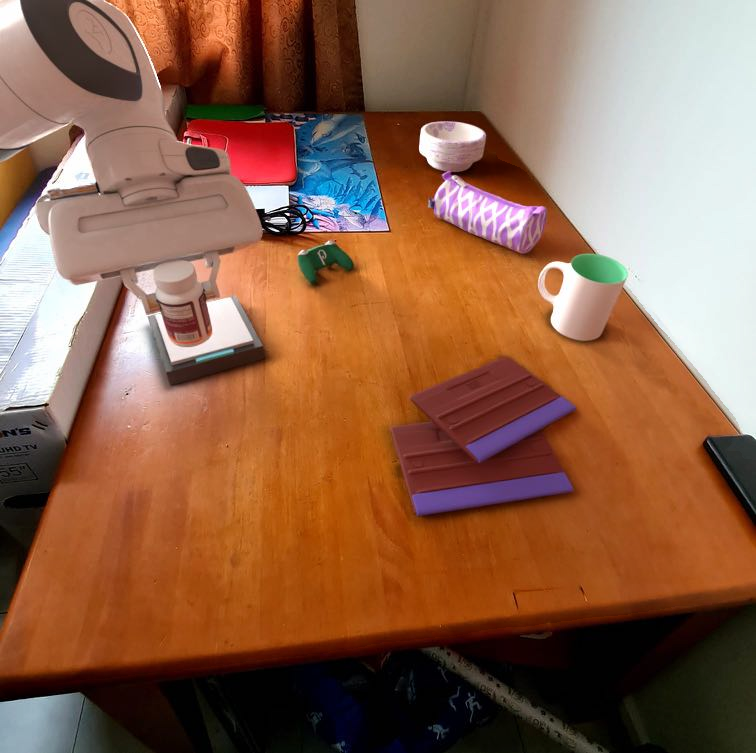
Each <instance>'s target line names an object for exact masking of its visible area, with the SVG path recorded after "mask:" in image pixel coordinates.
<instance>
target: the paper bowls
mask: <svg viewBox="0 0 756 753" xmlns="http://www.w3.org/2000/svg"><path fill="white" fill-rule="evenodd" d="M486 140H487V134H486V132H485V131H484V130H483V129H482V128H480V127H478V126H475V125H474V124H469V123H465V122H459V121H445V120H444V121H436V122H435V121H434V122H429V123H426V124H425V125H423V126H422V127H421V129H420V136H419V144H418V145H419V147H418V149H419V153H420V154H421V155H422V156H423V157H425V158H426V160H427V163H428V164H429V165H430V166H431V167H432V168H434V169H435V170H439V171H442V172H445V173H446V172H448V171H451V173H461V172H464V171H467V170H468V169H470V168H471V166H472V165H473V164H474V163H476V162H478V161H480V160H481V159H482V158H483V156H484V151H485V145H486Z"/></svg>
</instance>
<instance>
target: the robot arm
mask: <svg viewBox="0 0 756 753" xmlns="http://www.w3.org/2000/svg"><path fill="white" fill-rule="evenodd" d="M165 100H166V99H165V97H164V93H163V91H162V88H161V84H160V82H159V79H158V76H157V73H156V70H155V68H154V65H153V62H152V61H151V58H150V56H149V54H148V51H147V49H146V47H145V44H144V43H143V41H142V39H141V37H140V35H139V33H138V31H137V29H136V27H135V26H134V24H133V23H132V21H131V19H130V18H129V17H128V16H127V14H126V13H125V12H123V11H122V10H121V9H120V8H119V7H117V6H116V5H114V4H113V3H110V2H108V1H106V0H0V163H2V162H5V161H8V160H10V159H11V158H12V157H14V156H15V155H17V154H19V153H20V152H22V151H23V150H25V149H26V148H28V147H29V146H30V145H32V144H33V143H34V142H36V141H38V140H40V139H42V138H44V137H46V136H48V135H49V134H52V133H54V132H56V131H58V130H60V129H63V128H64V127H66V126H68V125H70V124H72V125H75V126H77V127H79V128H81V129H83V132H84V139H85V140H84V145H85V146H84V147H85V151H86V155H87V158H88V161H89V165H90V167H91V170H92V174H93V177H94V179H95V182H90V183H84V184H77V185H74V186H71V187H64V188H62V187H57V188H52V189H49V190H47V191H46V194H44V195H42V196H41V197H40V198H38V199H37V201H36V203H35V206H34V211H35V215H36V218H37V221H38V225H39V227H40V228H41V230H42V231H43V232H44V233H45V234H47V235H48V236H49V240H50V246H51V252H52V255H53V256H52V257H53V259H54V264H55V267H56V270H57V273H58V275H60V277H61V278H62V279H63V280H65V281H66V282H68V283H70V284H72V285H73V286H80V285H85V284H89V283H95V282H99V281H105V280H109V279H114V278H118V277H121V281H122V282H123V283H122V284H123V285H124V287H125V288H126V289H128V291H130V292H131V293H132V294H133V295H134V296H135V297H136V298H137V299H138V300H141V303H142V306H143V310H144V312H145V315H146V316H150V315H154V314H158V313H161V310H160V307H159V303H158V302H157V298H156V294H155V292H152V293H146V292H145V291H144V290H143V289H142V288H141V287H140V286H139V285H138V284H139V278H138V275H137V273H142V272H147V271H152V270H153V271H154V269H155V268H156V267H157V266H158V265H160V264H161V263H163V262H166V261H170V260H185V261H188V262H190V263H192V262H197V261H203V264H204V265H205V268H206V269H210V274H209V278H208V280H205V281H201V284H202V286H203V289H204V295H205V299H206V302H210V301H214V300H218V299H220V297H221V295H220V290H219V288H218V283H217V277H218V273H219V270H220V265H221V258H220V256H225V255H230V254H235V253H239V252H244V251H249V250H253V249H255V248H257V247H258V245H259V243H261V242H260V241H261V239H262V238H263V233H264V232H263V227H262V223H261V220H260V217H259V214H258V212H257V209H256V207H255V205H254V202H253V200H252V198H251V195H250V194H249V191H248V190H247V188H246V186H245V185H244V183H243V182H242V181H241V180H240V179H239V177H236V176H235V175H233V174H232V165H231V158H230V155H229V154H228V152H227V151H226V150H224V149H221V148H216V147H209V146H204V145H198V144H192V143H188V142H182V141H179V140H178V138H177V136H176V133H175V132H174V130H173V128H172V127H171V125H170V124H169V122H168V119H167V116H166V101H165ZM48 199H49V200H48Z"/></svg>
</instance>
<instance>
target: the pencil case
mask: <svg viewBox="0 0 756 753" xmlns="http://www.w3.org/2000/svg"><path fill="white" fill-rule="evenodd" d="M451 173H452V172H451V171H448V172H446V171H445V172H444V173H443V174H441V177H442V179H443V180H444V182H443V183H442V184H441V185H440V186H439V187H438V189H437V191H436V192H435V194H434V198H432V197H429V198H428V201H427V202H428V204H427V207H428V209H431V210H433V213H434V215H435V216H436V217H437V219H439V220H443V221H445V222H448V223H449V224H452V225H454V226H456V227H458V228H460V229H461V230H463V231H465V232H467V233H469V234H472V235H474V236H476V237H480V238H482V239H485V240H487V241H490V242H492V243H494V244H497V245H499V246H502V247H505V248H507V249H510V250H512V251H514V252H517V253H519V254H527V253H529V252H530V251H531V250H532V249H533V248H534V247H535V246H536V245H537V244H538V243H539V241H540V240H541V238H542V236H543V234H544V231H545V228H546V224H547V219H548V210H547V207H546V206H543V205H540V206H538V205H537V206H536V205H529V206H527V205H522V204H520V203H516V202H513V201H509V200H507V199H506V198H503V197H502V196H499V195H496V194H493V193H490V192H487V191H485V190H482V189H480V188H478V187H475V186H473V185H471V184H470V183H467V182H466V181H465V180H463V178H461V177H460V176H458V175H456V174H454V175H452V174H451Z"/></svg>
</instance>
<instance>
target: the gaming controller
mask: <svg viewBox="0 0 756 753" xmlns="http://www.w3.org/2000/svg"><path fill="white" fill-rule="evenodd" d="M334 240H335V239H329V240H328V241H327V242H325V243H324V244H320V245H317V246H314V247H311V248H309V249H307V248H305V249H302V250H301V251H299V252H298V254H297V255H296V256H297V264H298V267H299V270H300V272H301V273H302V276H304V278H305V279H306V280H307V282H308V283H309V284H310V285H315V284H317V283H318V277H317V276H318V275H317V272H318V271H320V270H323V269H324V268H327V267H331V266H333V265H335V264H336V265H338V267H341V268H342V269H344V270H346V271H350V270H352V269H353V268H354V267H355V265H354V262H353V260H352V258H351V257H350V255H348V254H347V252H345V251H344V250H343V249H342V248H341V247H340V246H339V245H338V244H337V243H336V242H335V241H334Z"/></svg>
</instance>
